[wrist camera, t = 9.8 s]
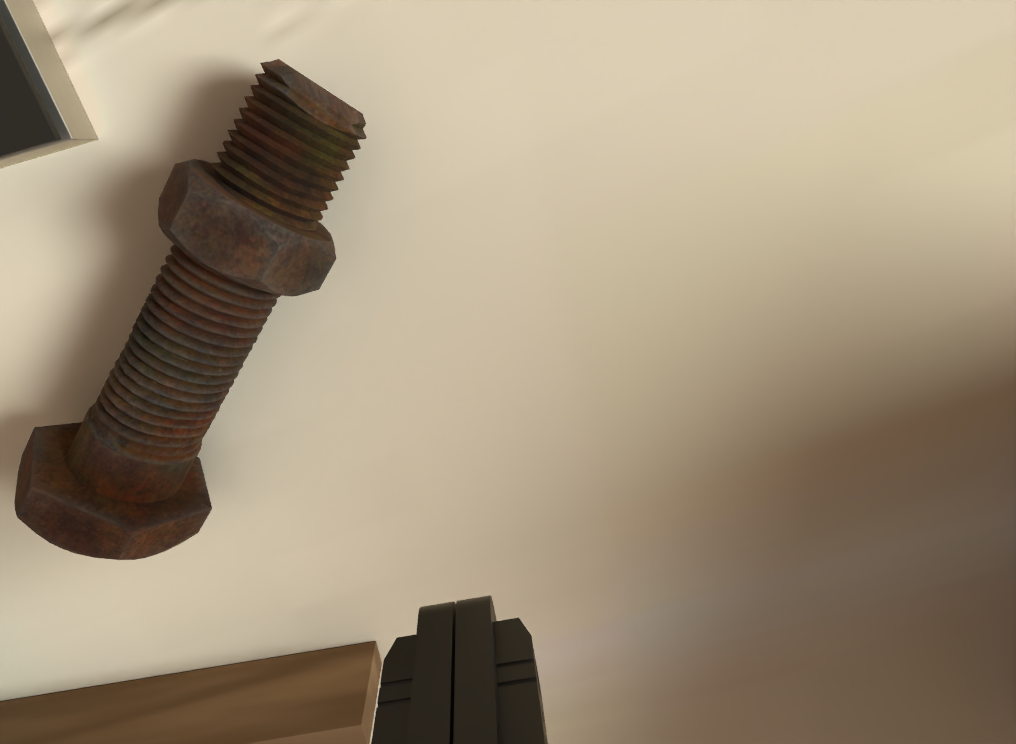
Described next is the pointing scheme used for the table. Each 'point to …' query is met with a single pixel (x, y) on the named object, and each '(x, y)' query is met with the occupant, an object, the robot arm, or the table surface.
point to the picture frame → (35, 90)
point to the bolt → (195, 326)
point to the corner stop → (214, 705)
